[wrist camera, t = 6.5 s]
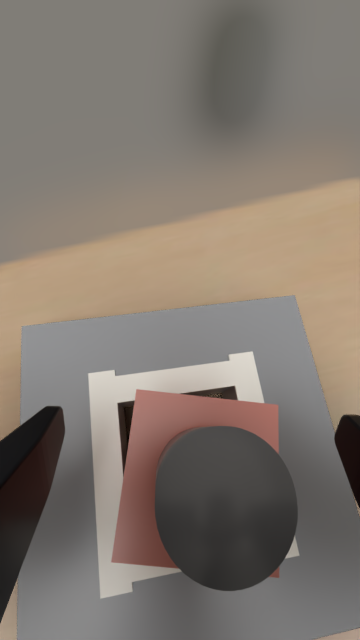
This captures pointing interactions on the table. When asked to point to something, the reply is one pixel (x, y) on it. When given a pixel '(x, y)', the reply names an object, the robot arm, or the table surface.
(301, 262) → the table surface
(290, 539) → the plug
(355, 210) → the table surface
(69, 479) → the socket plate
